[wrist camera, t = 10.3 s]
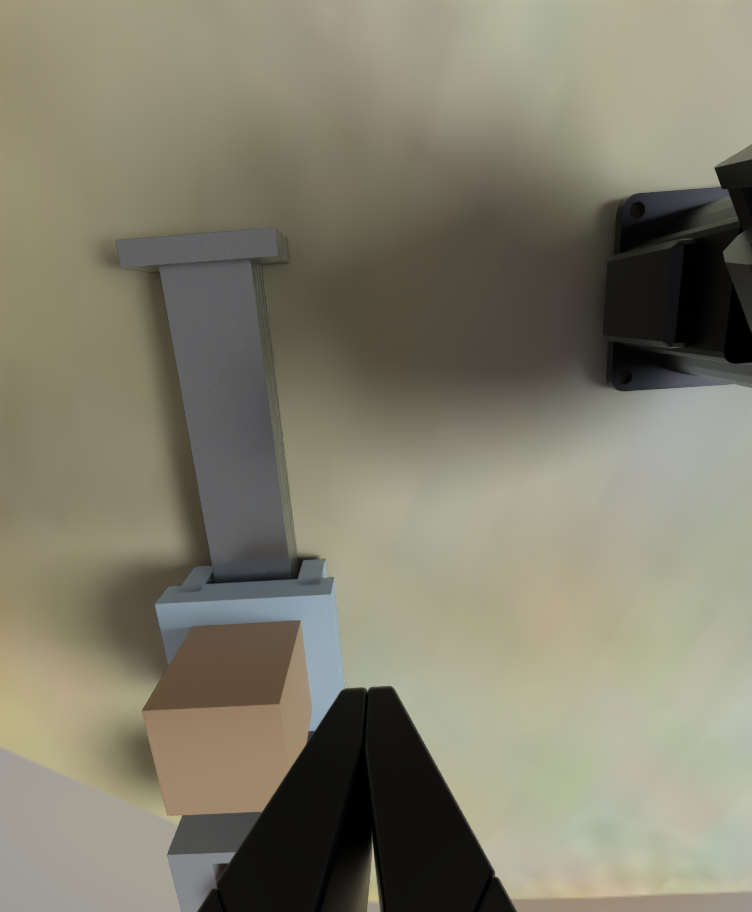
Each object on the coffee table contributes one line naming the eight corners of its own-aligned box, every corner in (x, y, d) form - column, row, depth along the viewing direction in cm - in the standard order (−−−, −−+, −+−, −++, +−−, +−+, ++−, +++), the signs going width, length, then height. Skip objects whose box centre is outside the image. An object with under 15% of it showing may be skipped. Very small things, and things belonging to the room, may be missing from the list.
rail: (286, 237, 17) (275, 227, 15) (336, 700, 23) (333, 736, 21) (144, 247, 17) (115, 239, 15) (228, 705, 23) (214, 742, 21)
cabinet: (349, 712, 23) (338, 847, 17) (355, 779, 24) (348, 927, 18) (220, 718, 23) (166, 854, 17) (233, 785, 24) (186, 934, 18)
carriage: (337, 558, 20) (317, 672, 14) (349, 680, 22) (336, 832, 15) (183, 566, 20) (92, 684, 14) (206, 687, 22) (135, 841, 16)
